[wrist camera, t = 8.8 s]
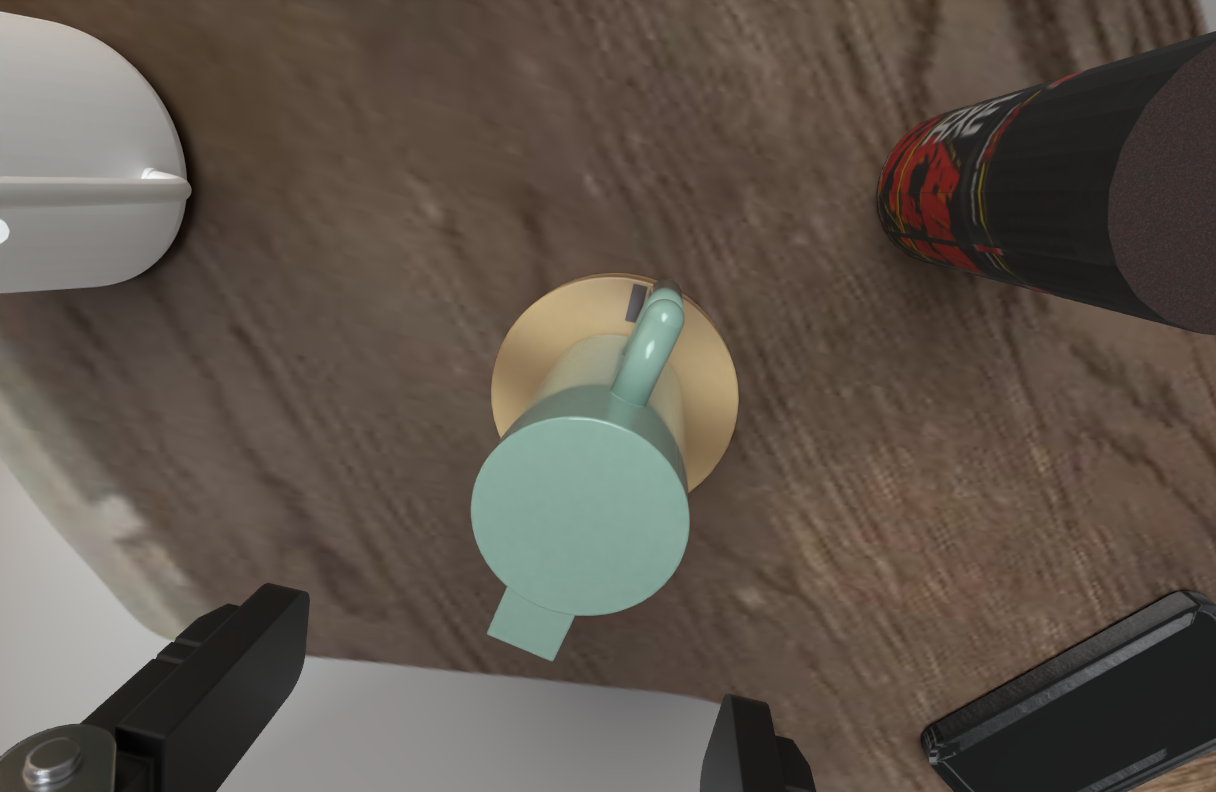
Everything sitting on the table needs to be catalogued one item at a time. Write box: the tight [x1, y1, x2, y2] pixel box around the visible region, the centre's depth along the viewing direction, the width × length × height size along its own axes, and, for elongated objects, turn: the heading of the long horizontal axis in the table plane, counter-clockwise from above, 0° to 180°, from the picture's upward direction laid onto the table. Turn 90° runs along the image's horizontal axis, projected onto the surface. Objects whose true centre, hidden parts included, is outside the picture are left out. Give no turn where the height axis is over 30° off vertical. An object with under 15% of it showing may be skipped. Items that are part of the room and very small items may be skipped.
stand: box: [491, 273, 739, 493], centre depth 30 cm, size 11×11×2 cm
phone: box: [921, 591, 1216, 792], centre depth 32 cm, size 8×1×15 cm
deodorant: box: [877, 31, 1216, 335], centre depth 20 cm, size 6×6×15 cm
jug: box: [471, 279, 690, 661], centre depth 23 cm, size 11×6×11 cm, turn 157°
